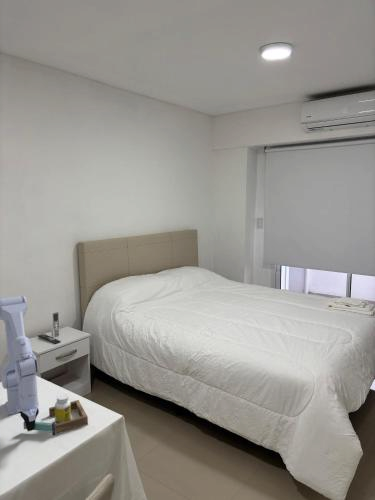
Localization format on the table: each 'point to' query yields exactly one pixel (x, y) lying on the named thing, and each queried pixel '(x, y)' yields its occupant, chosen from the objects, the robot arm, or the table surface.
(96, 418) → the table surface
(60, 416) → the supplement bottle
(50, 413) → the brown frame
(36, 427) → the swing gate
